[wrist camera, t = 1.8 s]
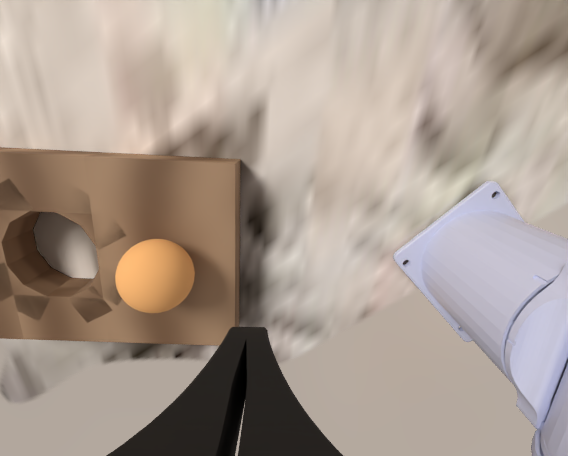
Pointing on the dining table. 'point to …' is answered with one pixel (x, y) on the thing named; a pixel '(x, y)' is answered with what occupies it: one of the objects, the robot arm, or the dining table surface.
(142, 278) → the ball
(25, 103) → the dining table surface
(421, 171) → the dining table surface
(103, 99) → the dining table surface
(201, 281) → the board
